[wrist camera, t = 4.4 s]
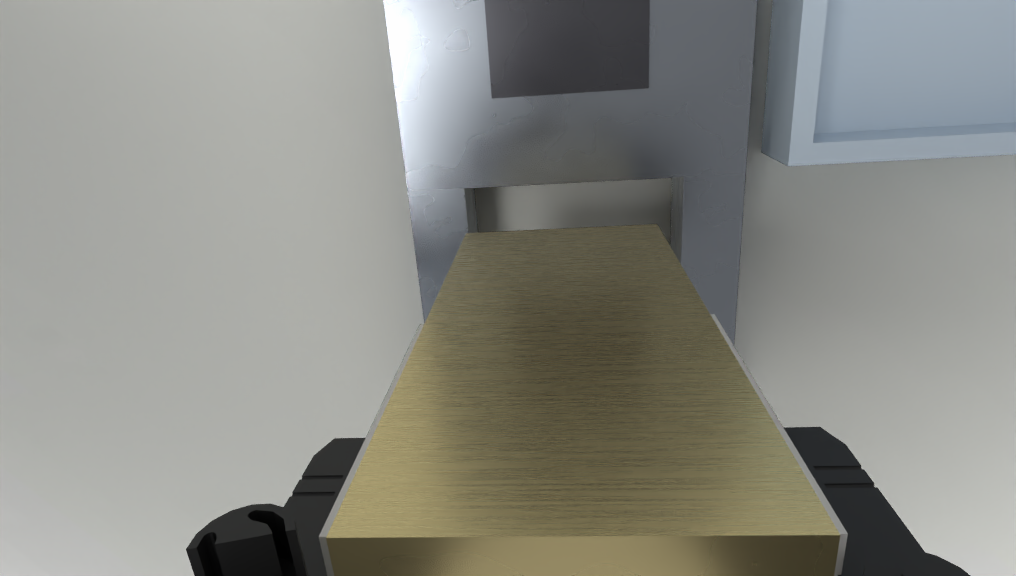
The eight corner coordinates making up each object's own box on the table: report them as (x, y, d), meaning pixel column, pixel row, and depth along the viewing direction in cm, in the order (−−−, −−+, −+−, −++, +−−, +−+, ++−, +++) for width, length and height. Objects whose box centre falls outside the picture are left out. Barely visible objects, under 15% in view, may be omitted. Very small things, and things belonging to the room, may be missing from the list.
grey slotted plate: (446, 393, 24) (436, 424, 22) (358, -355, 16) (330, -411, 14) (715, 388, 23) (729, 420, 21) (761, -412, 15) (791, -481, 13)
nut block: (481, 396, 18) (392, 840, 8) (465, 233, 16) (326, 538, 6) (654, 392, 18) (790, 855, 8) (657, 223, 16) (840, 535, 6)
